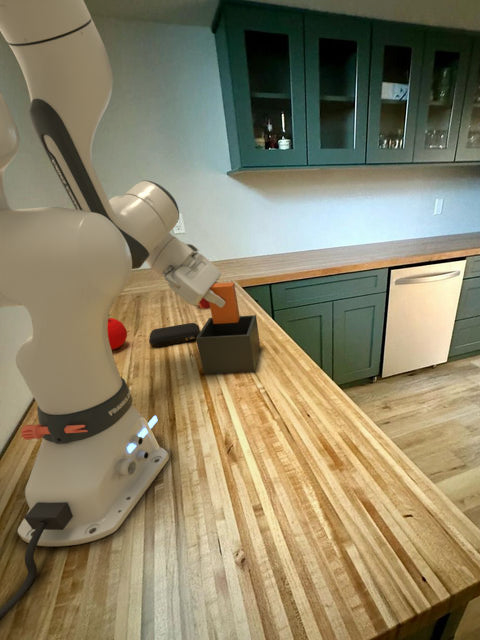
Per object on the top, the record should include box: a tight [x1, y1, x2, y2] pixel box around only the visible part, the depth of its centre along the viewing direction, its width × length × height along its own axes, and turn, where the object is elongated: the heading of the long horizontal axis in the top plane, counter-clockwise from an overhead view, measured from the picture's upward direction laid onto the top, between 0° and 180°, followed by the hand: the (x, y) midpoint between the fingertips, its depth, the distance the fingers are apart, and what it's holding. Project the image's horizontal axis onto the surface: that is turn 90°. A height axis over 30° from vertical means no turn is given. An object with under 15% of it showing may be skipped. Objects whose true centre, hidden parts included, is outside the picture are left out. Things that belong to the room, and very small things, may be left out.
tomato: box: [107, 314, 128, 351], centre depth 97 cm, size 10×10×10 cm
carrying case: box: [148, 322, 201, 347], centre depth 102 cm, size 11×3×15 cm
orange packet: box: [209, 281, 241, 324], centre depth 81 cm, size 3×6×9 cm, turn 90°
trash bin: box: [195, 314, 261, 375], centre depth 86 cm, size 14×13×10 cm
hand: (226, 301), depth 80 cm, fingers closed on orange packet, 3 cm apart
